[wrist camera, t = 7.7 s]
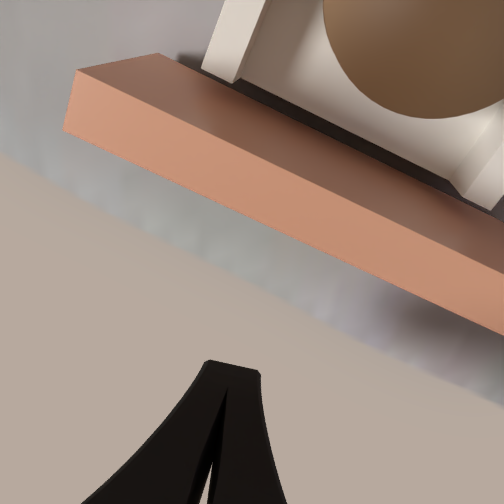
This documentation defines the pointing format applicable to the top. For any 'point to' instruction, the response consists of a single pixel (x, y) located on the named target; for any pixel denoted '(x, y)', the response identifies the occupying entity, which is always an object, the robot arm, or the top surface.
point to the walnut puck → (421, 53)
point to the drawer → (311, 154)
